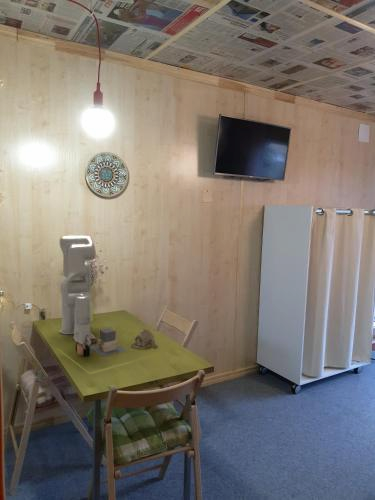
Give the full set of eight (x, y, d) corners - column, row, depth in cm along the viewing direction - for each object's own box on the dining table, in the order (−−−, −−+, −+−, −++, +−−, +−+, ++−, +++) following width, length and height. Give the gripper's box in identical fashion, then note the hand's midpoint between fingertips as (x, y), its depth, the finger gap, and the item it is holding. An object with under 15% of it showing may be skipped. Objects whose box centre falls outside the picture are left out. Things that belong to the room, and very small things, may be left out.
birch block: (98, 348, 200) (98, 339, 199) (110, 345, 204) (110, 336, 204) (104, 352, 194) (104, 342, 194) (116, 349, 199) (116, 340, 198)
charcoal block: (99, 339, 199) (99, 329, 198) (109, 336, 203) (109, 327, 202) (105, 342, 195) (105, 333, 194) (115, 340, 198) (115, 330, 198)
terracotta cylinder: (75, 354, 193) (75, 343, 192) (85, 352, 196) (85, 341, 196) (79, 358, 189) (79, 346, 188) (90, 355, 192) (90, 344, 192)
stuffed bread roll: (144, 341, 215) (144, 324, 214) (160, 345, 209) (160, 328, 208) (127, 348, 204) (128, 330, 202) (143, 353, 198) (144, 334, 196)
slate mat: (88, 348, 201) (88, 347, 201) (111, 343, 210) (111, 341, 210) (102, 358, 189) (102, 356, 189) (126, 352, 198) (126, 350, 198)
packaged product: (73, 330, 216) (90, 328, 222) (73, 338, 217) (90, 336, 222) (82, 340, 201) (100, 337, 206) (82, 348, 202) (100, 346, 207)
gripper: (68, 317, 195) (68, 349, 196) (83, 325, 181) (83, 360, 183) (82, 314, 199) (82, 346, 201) (97, 322, 186) (97, 357, 188)
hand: (82, 353), depth 192 cm, fingers open, 8 cm apart
